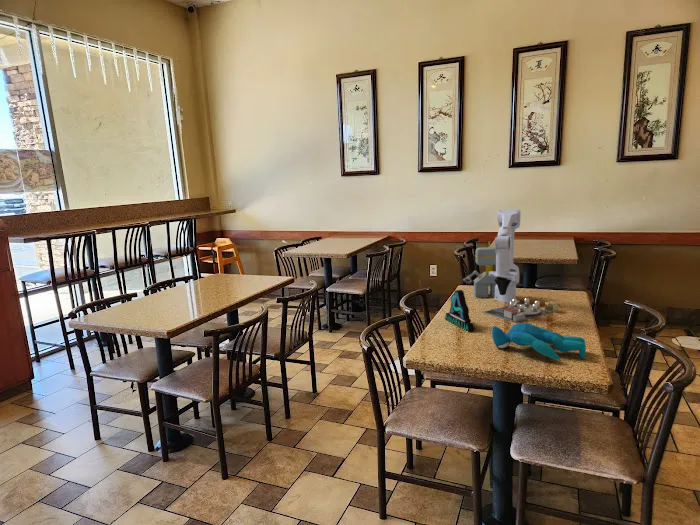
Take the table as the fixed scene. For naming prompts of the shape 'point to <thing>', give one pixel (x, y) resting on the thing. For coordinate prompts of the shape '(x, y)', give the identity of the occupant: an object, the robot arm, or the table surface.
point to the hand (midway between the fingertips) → (502, 294)
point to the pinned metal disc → (526, 307)
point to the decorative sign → (463, 316)
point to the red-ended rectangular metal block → (510, 313)
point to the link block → (552, 306)
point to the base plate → (516, 318)
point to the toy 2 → (538, 340)
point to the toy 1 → (481, 282)
